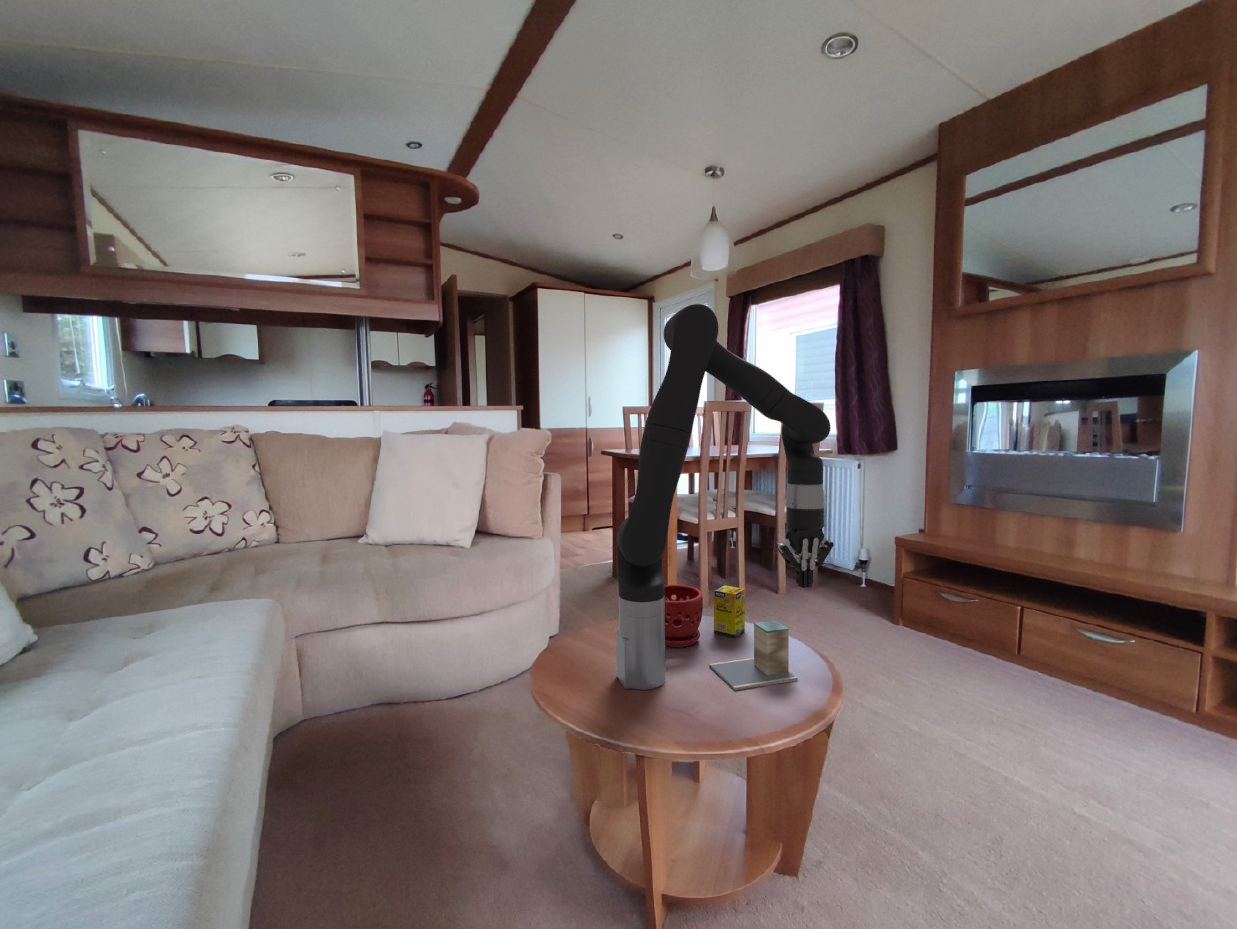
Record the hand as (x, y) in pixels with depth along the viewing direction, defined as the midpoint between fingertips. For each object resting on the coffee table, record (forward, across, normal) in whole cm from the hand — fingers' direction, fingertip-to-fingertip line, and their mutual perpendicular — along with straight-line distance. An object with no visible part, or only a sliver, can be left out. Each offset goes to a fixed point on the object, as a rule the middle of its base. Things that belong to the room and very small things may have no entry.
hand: (804, 586), depth 109 cm
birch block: (+17, -8, 0) cm, 18 cm away
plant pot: (+17, -21, +21) cm, 34 cm away
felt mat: (+17, -12, 0) cm, 21 cm away
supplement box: (+17, -6, +22) cm, 29 cm away
